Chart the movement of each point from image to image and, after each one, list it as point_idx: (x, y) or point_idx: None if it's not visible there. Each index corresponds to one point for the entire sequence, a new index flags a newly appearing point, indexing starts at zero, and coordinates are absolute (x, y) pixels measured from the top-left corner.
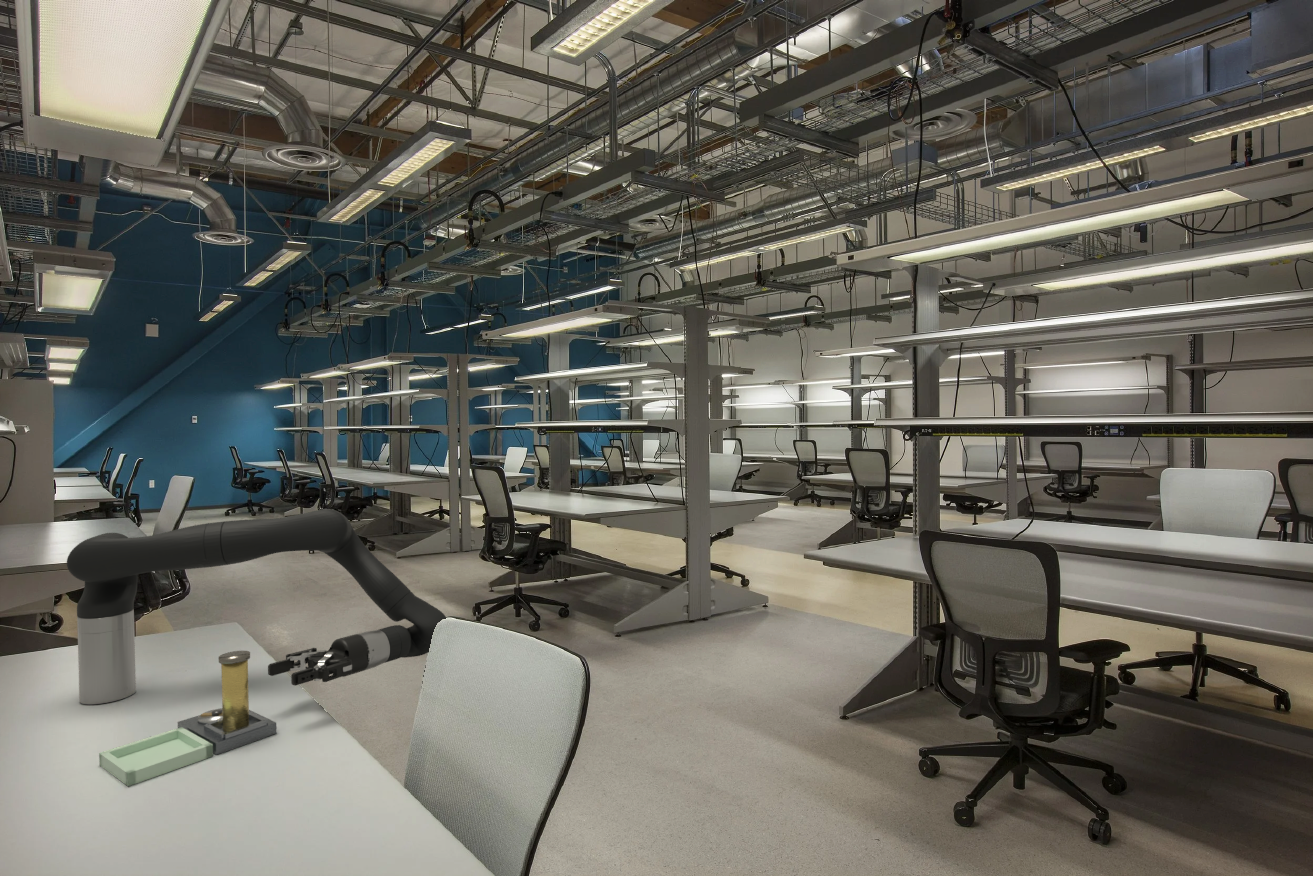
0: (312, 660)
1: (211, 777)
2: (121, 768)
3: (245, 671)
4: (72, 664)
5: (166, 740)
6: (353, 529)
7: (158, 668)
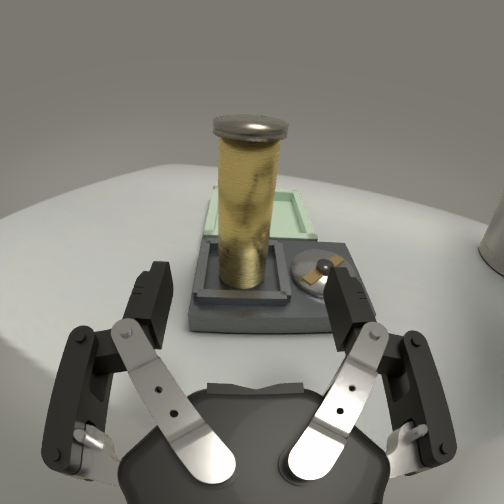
0: (262, 388)
1: (149, 233)
2: None
3: (220, 164)
4: None
5: (302, 232)
6: None
7: None
